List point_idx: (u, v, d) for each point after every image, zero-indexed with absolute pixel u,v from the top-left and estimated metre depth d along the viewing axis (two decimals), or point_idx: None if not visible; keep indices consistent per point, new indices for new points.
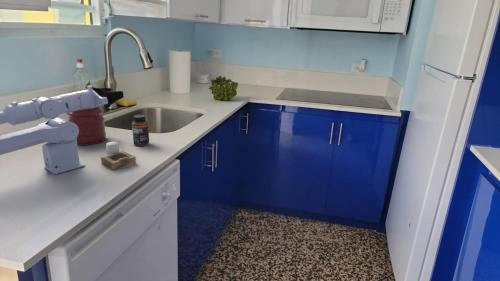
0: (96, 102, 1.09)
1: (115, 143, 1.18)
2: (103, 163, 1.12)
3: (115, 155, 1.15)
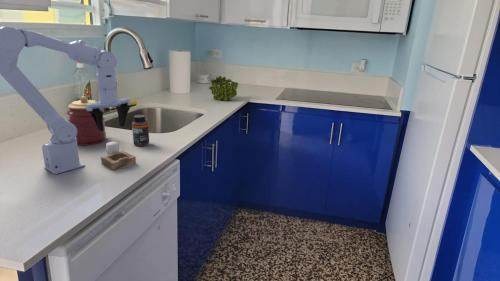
0: (98, 103, 1.12)
1: (115, 143, 1.18)
2: (103, 163, 1.12)
3: (115, 155, 1.15)
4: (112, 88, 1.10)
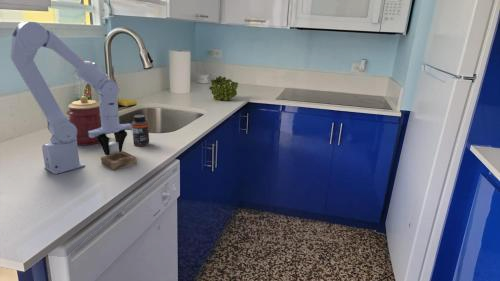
0: (100, 129, 1.14)
1: (115, 143, 1.18)
2: (103, 163, 1.12)
3: (115, 155, 1.15)
4: (114, 115, 1.13)
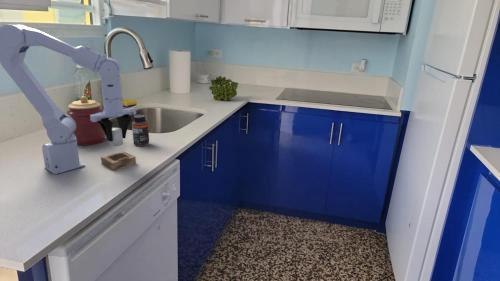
0: (103, 113, 1.07)
1: (118, 129, 1.10)
2: (103, 163, 1.12)
3: (115, 155, 1.15)
4: (114, 98, 1.05)
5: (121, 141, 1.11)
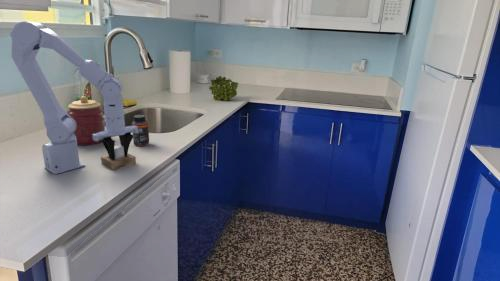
0: (105, 132, 1.08)
1: (120, 147, 1.12)
2: (103, 163, 1.12)
3: None
4: (115, 118, 1.06)
5: None
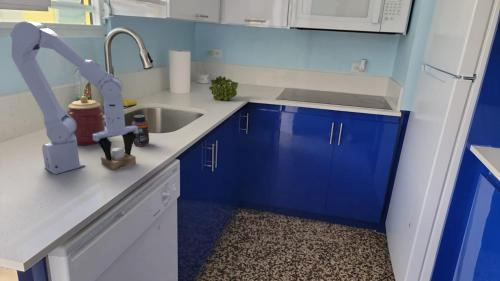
0: (105, 132, 1.08)
1: (120, 149, 1.12)
2: (103, 163, 1.12)
3: None
4: (115, 118, 1.06)
5: None
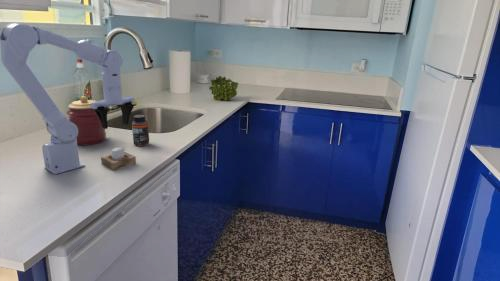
0: (103, 101, 1.14)
1: (120, 149, 1.12)
2: (103, 163, 1.12)
3: None
4: (117, 87, 1.13)
5: None
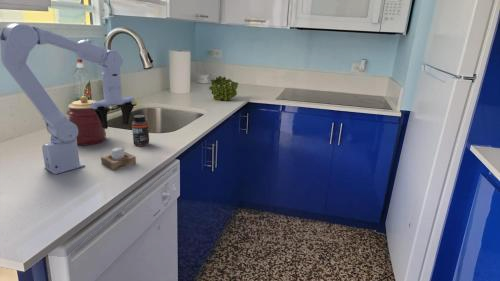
0: (103, 101, 1.14)
1: (120, 149, 1.12)
2: (103, 163, 1.12)
3: None
4: (117, 87, 1.13)
5: None
